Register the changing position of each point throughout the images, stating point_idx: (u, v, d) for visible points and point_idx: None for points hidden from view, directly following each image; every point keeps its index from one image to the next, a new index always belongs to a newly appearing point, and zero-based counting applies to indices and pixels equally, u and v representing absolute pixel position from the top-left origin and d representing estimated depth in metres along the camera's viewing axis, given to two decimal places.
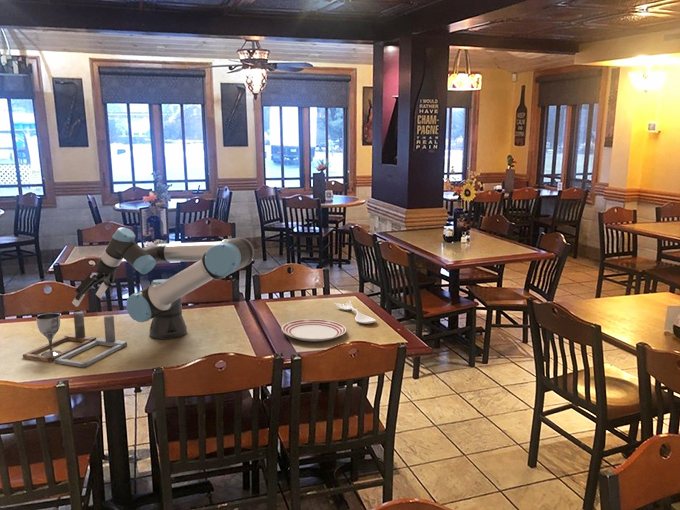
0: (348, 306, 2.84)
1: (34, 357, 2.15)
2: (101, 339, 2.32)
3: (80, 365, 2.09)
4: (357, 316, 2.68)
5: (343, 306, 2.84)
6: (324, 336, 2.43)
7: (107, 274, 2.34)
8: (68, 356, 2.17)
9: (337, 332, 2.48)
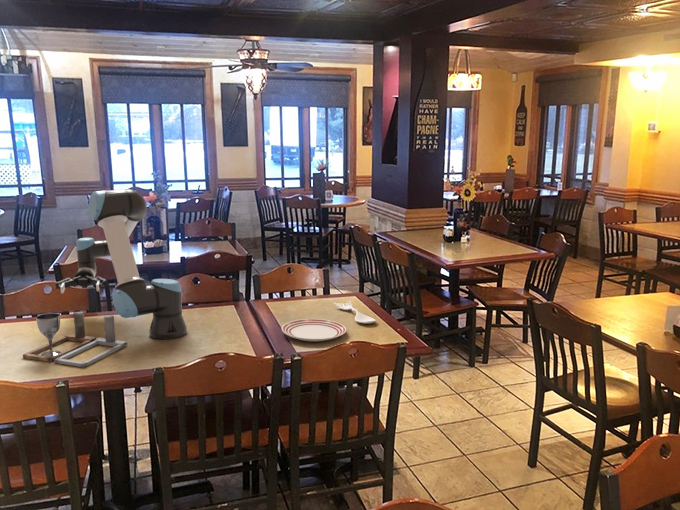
0: (348, 306, 2.84)
1: (34, 357, 2.15)
2: (101, 339, 2.32)
3: (80, 365, 2.09)
4: (357, 316, 2.68)
5: (343, 306, 2.84)
6: (324, 336, 2.43)
7: None
8: (68, 356, 2.17)
9: (337, 332, 2.48)
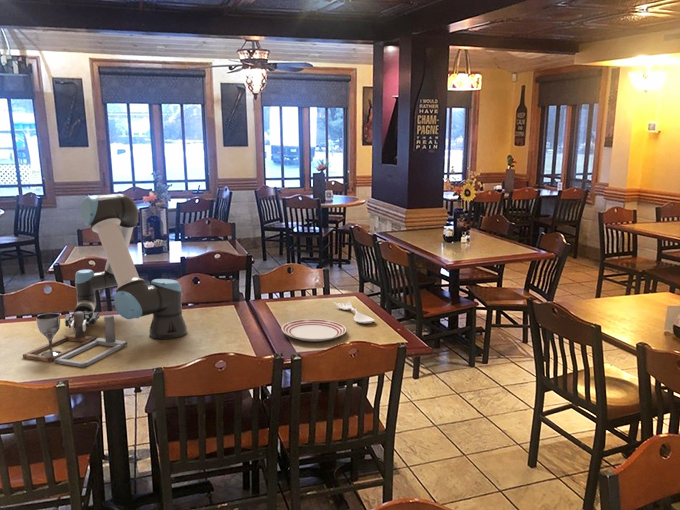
0: (347, 306, 2.85)
1: (34, 357, 2.15)
2: (101, 339, 2.32)
3: (80, 365, 2.09)
4: (356, 316, 2.68)
5: (342, 306, 2.84)
6: (324, 336, 2.43)
7: None
8: (68, 356, 2.17)
9: (337, 332, 2.48)
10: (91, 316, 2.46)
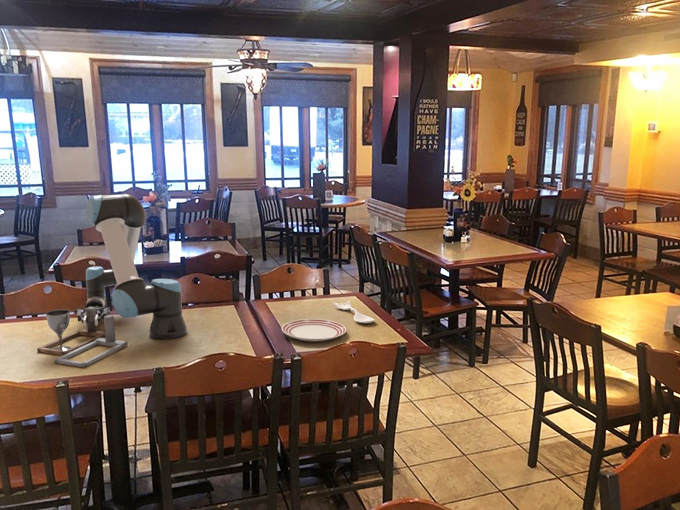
0: (347, 306, 2.85)
1: (48, 351, 2.21)
2: (101, 339, 2.32)
3: (80, 365, 2.09)
4: (356, 316, 2.68)
5: (342, 306, 2.84)
6: (324, 336, 2.43)
7: None
8: (68, 356, 2.17)
9: (337, 332, 2.48)
10: (102, 311, 2.52)
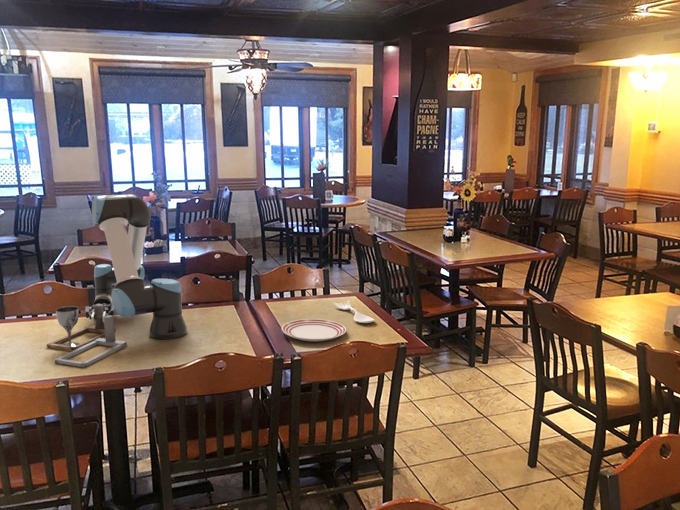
0: (346, 306, 2.85)
1: (58, 346, 2.26)
2: (101, 339, 2.32)
3: (80, 365, 2.09)
4: (356, 316, 2.68)
5: (341, 306, 2.84)
6: (324, 336, 2.43)
7: None
8: (68, 356, 2.17)
9: (337, 332, 2.48)
10: (110, 308, 2.57)
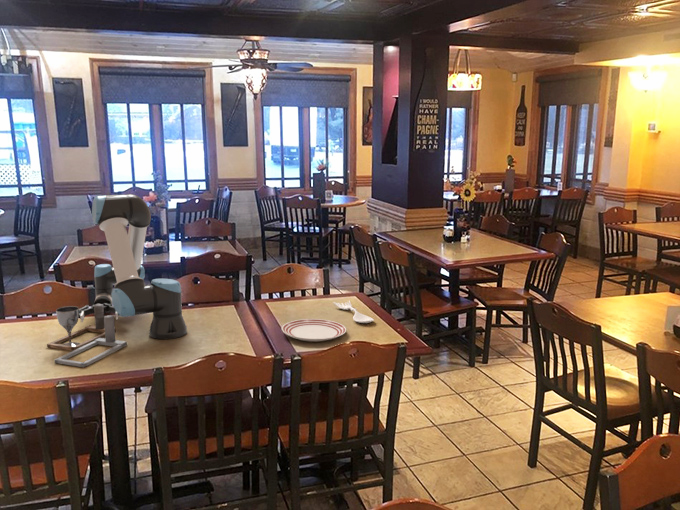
0: (347, 306, 2.85)
1: (58, 346, 2.26)
2: (101, 339, 2.32)
3: (80, 365, 2.09)
4: (355, 315, 2.68)
5: (342, 305, 2.85)
6: (324, 336, 2.43)
7: None
8: (68, 356, 2.17)
9: (337, 332, 2.48)
10: None
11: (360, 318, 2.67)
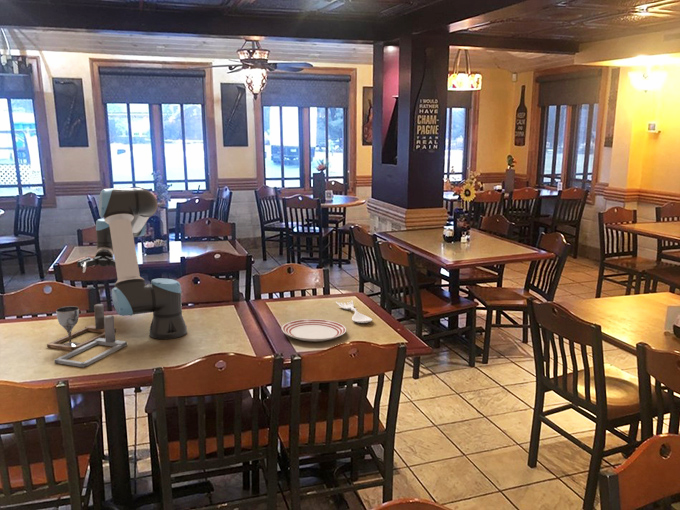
0: (349, 305, 2.86)
1: (58, 346, 2.26)
2: (101, 339, 2.32)
3: (80, 365, 2.09)
4: (354, 315, 2.69)
5: None
6: (324, 336, 2.43)
7: (105, 257, 2.65)
8: (68, 356, 2.17)
9: (337, 332, 2.48)
10: None
11: (359, 318, 2.67)
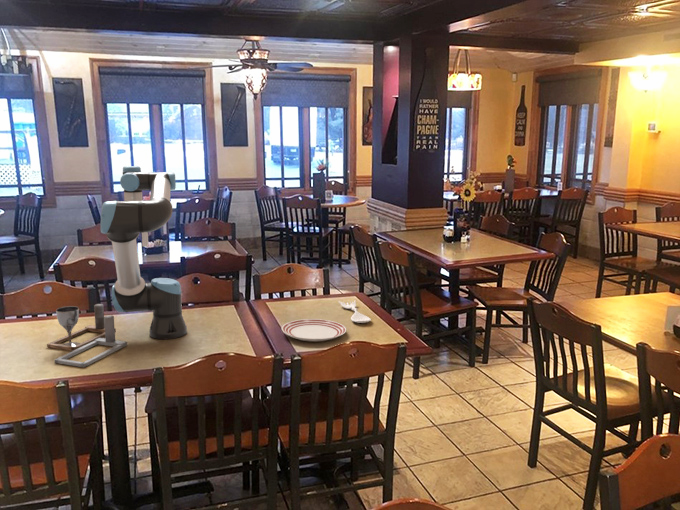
0: (351, 305, 2.86)
1: (58, 346, 2.26)
2: (101, 339, 2.32)
3: (80, 365, 2.09)
4: (354, 315, 2.69)
5: (346, 305, 2.86)
6: (324, 336, 2.43)
7: None
8: (68, 356, 2.17)
9: (337, 332, 2.48)
10: None
11: (358, 318, 2.67)
